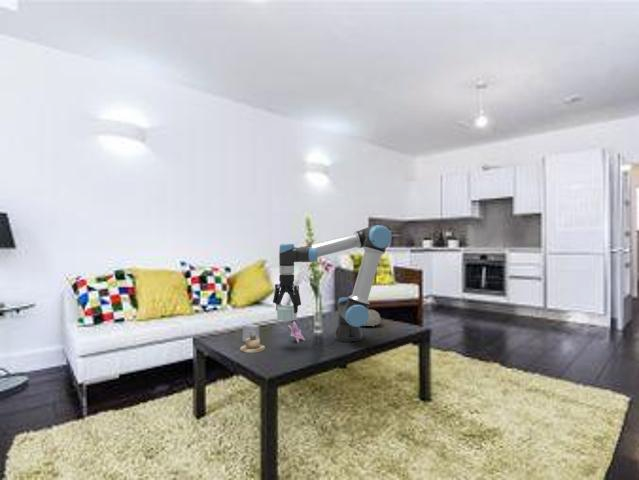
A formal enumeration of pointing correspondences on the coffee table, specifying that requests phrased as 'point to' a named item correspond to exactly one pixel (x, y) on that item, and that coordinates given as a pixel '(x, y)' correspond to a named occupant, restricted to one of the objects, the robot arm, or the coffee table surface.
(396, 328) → the coffee table surface
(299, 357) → the coffee table surface
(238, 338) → the coffee table surface
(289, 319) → the cap
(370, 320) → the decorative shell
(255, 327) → the medicine box
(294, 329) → the lily
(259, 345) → the stud pedestal
